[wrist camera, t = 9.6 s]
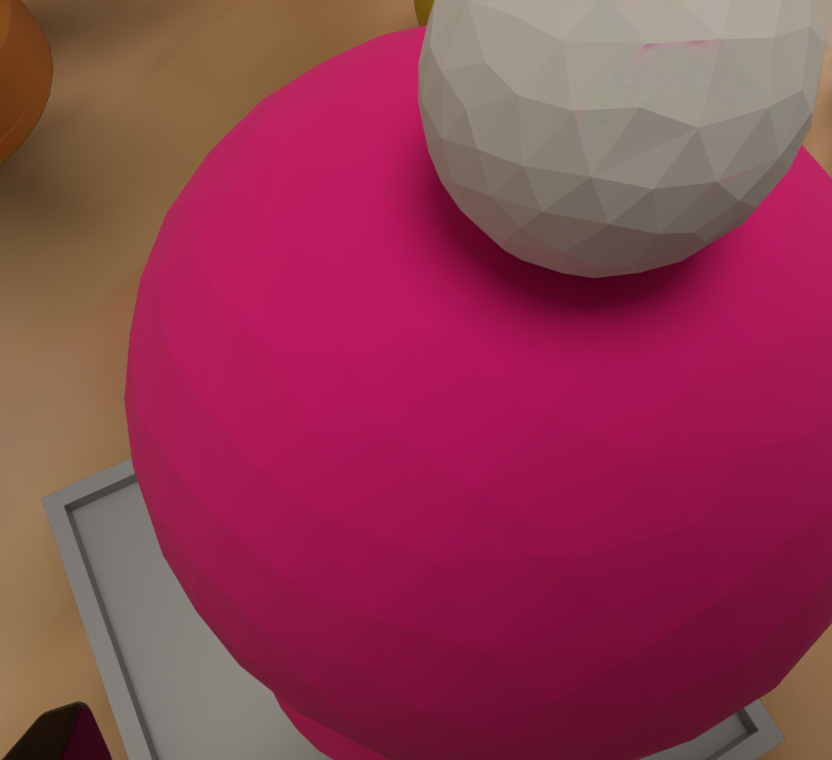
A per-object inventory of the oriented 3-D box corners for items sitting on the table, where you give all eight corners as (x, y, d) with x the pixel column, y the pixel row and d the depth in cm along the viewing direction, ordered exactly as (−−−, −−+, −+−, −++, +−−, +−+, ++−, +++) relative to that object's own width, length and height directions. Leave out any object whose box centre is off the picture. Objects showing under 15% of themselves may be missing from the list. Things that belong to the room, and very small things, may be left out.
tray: (767, 738, 20) (785, 738, 19) (253, 1090, 17) (247, 1111, 16) (489, 313, 26) (493, 297, 25) (54, 507, 22) (40, 498, 21)
